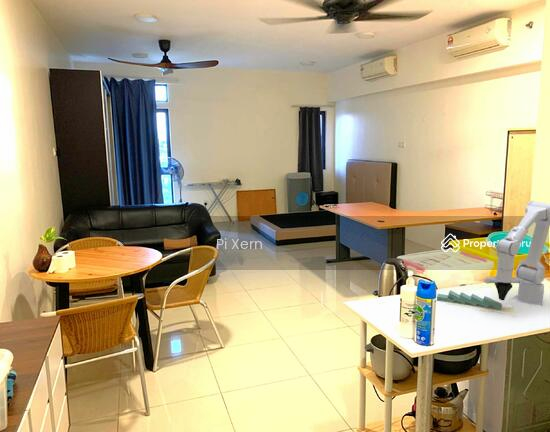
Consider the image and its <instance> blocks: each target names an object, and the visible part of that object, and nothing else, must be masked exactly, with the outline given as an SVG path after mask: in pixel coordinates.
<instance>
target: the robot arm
mask: <svg viewBox="0 0 550 432" xmlns="http://www.w3.org/2000/svg"><path fill="white" fill-rule="evenodd" d="M534 223H535V227H534V230H533V234H532V238H531V241H530V245H529V248H528V253H527V256H526V258H524V259H523V260H520V261H519V263H518V266H517V267H516V270H515V276H516V277H515V276H513V271H514V262H515V256H516V255H517V254H518V253H519V249H520V247H521V243H522V241H523V240H524V239H525V238H526V236H527V230H528V229H530V227H531V226H532V225H533V224H534ZM549 230H550V203H546V202H540V201H539V202H538V201H534V200H530V201H529V202H528V203H527V204H526V206H525V214H524V216H523V217H522V219H521V220H520V222H519V224H518V225H517V226H513V227H512V228H511V230H510V231H509V232H508V233H507V234H506V236H505V237H504V238H502V239H499V241H498V242H497V243H496V246H495V250H496V254H497V265H496V266H497V267H496V276H490V277H484V283H486V284H487V285H488V284H489V285H490V284H494V285H495V288H496V290H497V295H498V300H500V301H505V299H506V297H507V295H508V294H509V292H510V290H511V289H512V288H513V284H518V289H517V291H518V292H517V295H515V298H516V301H517V302H518V303H522V304H523V303H524V304H531V305H536V306H537V305H538V306H542V307H543V299H544V295H545V294H544V293H545V285H544V283H543V282H544V280H545V277H546V267H545V266H544V264H543V263H542V262H541V258H542V255H543V252H544V248H545V244H546V241H547V237H548V233H549Z"/></svg>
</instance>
